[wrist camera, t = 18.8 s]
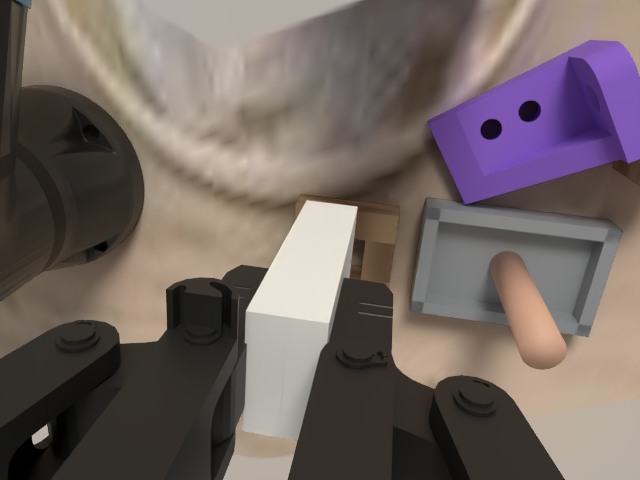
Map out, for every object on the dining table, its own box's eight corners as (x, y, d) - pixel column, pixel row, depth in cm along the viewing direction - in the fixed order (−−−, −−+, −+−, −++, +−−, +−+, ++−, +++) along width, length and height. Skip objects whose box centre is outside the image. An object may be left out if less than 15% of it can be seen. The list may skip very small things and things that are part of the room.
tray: (409, 297, 45) (410, 311, 43) (426, 197, 42) (427, 207, 40) (578, 321, 44) (588, 337, 42) (610, 219, 40) (622, 231, 38)
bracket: (588, 40, 36) (627, 41, 30) (620, 129, 38) (663, 148, 32) (426, 120, 40) (431, 137, 34) (463, 198, 42) (474, 228, 35)
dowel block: (294, 281, 46) (289, 294, 44) (301, 194, 43) (295, 203, 41) (386, 294, 45) (385, 308, 43) (399, 206, 42) (399, 216, 40)
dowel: (486, 278, 43) (515, 366, 32) (492, 249, 42) (524, 328, 31) (519, 282, 42) (560, 372, 31) (526, 252, 41) (571, 334, 30)
